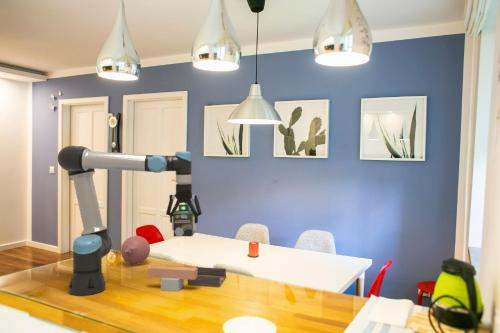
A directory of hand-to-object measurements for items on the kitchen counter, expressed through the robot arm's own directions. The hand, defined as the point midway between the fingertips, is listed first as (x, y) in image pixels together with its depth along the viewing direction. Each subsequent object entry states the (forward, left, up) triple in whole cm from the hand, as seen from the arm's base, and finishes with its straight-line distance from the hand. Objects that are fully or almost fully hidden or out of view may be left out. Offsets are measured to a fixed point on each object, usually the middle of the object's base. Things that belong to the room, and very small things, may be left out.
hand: (184, 229), depth 190 cm
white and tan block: (-13, +1, -24) cm, 27 cm away
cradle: (-1, -12, -24) cm, 27 cm away
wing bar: (-13, +1, -19) cm, 23 cm away
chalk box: (0, 0, -3) cm, 3 cm away
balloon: (+20, +35, -24) cm, 47 cm away
